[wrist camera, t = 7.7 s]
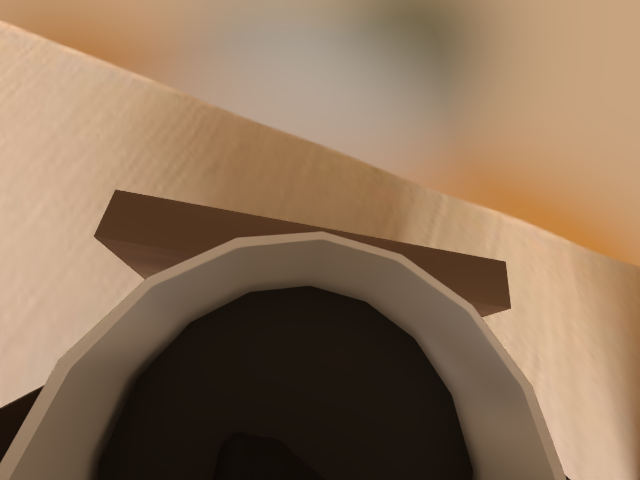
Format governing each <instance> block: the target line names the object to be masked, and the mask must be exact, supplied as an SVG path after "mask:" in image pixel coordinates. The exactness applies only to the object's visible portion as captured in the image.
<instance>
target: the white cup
mask: <svg viewBox="0 0 640 480" xmlns="http://www.w3.org/2000/svg"><path fill="white" fill-rule="evenodd" d="M0 480H566V477H565V474H564V471H563V469H562V466H561V463H560V460H559V458H558V455H557V452H556V450H555V447H554V444H553V441H552V439H551V436H550V433H549V431H548V428H547V425H546V422H545V420H544V417H543V414H542V412H541V409H540V406H539V403H538V401H537V398H536V395H535V393H534V390H533V387H532V385H531V384H530V382H529V381H528V380H527V378H526V377H525V376H524V374H523V373H522V372H521V370H520V369H519V368H518V366H517V365H516V363H515V362H514V361H513V359H512V358H511V357H510V355H509V354H508V353H507V351H506V350H505V349H504V347H503V346H502V345H501V343H500V342H499V340H498V339H497V338H496V336H495V335H494V334H493V332H492V331H491V330H490V328H489V327H488V326H487V324H486V323H485V322H484V320H483V319H482V317H481V316H480V315H479V313H478V312H477V311H476V309H475V308H474V307H473V305H471V304H470V303H469V302H467V301H466V300H464V299H463V298H462V297H460V296H459V295H457V294H456V293H455V292H453V291H452V290H450V289H449V288H448V287H446V286H445V285H443V284H442V283H441V282H439V281H438V280H437V279H435V278H434V277H432V276H431V275H430V274H428V273H427V272H425V271H424V270H423V269H421V268H420V267H418V266H417V265H416V264H414V263H413V262H411V261H410V260H409V259H407V258H406V257H404V256H403V255H402V254H398V253H395V252H391V251H388V250H384V249H381V248H378V247H374V246H371V245H367V244H364V243H360V242H357V241H354V240H350V239H347V238H343V237H340V236H336V235H333V234H329V233H326V232H323V231H322V232H309V233H295V234H281V235H267V236H254V237H240V238H235V239H233V240H231V241H228V242H226V243H224V244H222V245H220V246H217V247H215V248H213V249H211V250H208V251H206V252H204V253H202V254H199V255H197V256H195V257H193V258H191V259H188V260H186V261H184V262H182V263H179V264H177V265H175V266H173V267H170V268H168V269H166V270H164V271H162V272H159V273H157V274H155V275H153V276H150V277H148V278H147V279H146V280H144V281H143V282H142V283H141V284H140V285H139V286H138V287H137V288H136V289H135V290H134V291H133V292H132V293H130V294H129V295H128V296H127V297H126V298H125V299H124V300H123V301H122V302H121V303H120V304H119V305H117V306H116V307H115V308H114V309H113V310H112V311H111V312H110V313H109V314H108V315H107V316H106V317H105V318H103V319H102V320H101V321H100V322H99V323H98V324H97V325H96V326H95V327H94V328H93V329H92V330H91V331H89V332H88V333H87V334H86V335H85V336H84V337H83V338H82V339H81V340H80V341H79V342H78V343H76V344H75V345H74V346H73V347H72V348H71V349H70V350H69V351H68V352H67V353H66V354H65V355H64V356H62V357H61V358H60V359H59V361H58V362H57V364H56V366H55V368H54V369H53V371H52V373H51V375H50V376H49V378H48V380H47V382H46V384H45V385H44V387H43V389H42V391H41V392H40V394H39V396H38V398H37V399H36V401H35V403H34V405H33V406H32V408H31V410H30V412H29V414H28V415H27V417H26V419H25V421H24V422H23V424H22V426H21V428H20V429H19V431H18V433H17V435H16V436H15V438H14V440H13V442H12V443H11V445H10V447H9V449H8V451H7V452H6V454H5V456H4V458H3V459H2V461H1V463H0Z"/></svg>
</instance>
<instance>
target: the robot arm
mask: <svg viewBox="0 0 640 480" xmlns="http://www.w3.org/2000/svg"><path fill="white" fill-rule="evenodd" d="M43 387H44V386H42V387H40V388H38V389H36V390H34V391H32V392H30V393H28V394H26V395H24V396H22V397H21V398H19V399H17V400H15V401H13V402H11V403H9V404H7V405H5V406H3V407H1V408H0V463H1V461H2V459H3V458H4V456H5V454H6V452H7V451H8V449H9V447H10V445H11V443H12V442H13V440H14V438H15V436H16V435H17V433H18V431H19V429H20V428H21V426H22V424H23V422H24V421H25V419H26V417H27V415H28V414H29V412H30V410H31V408H32V406H33V405H34V403H35V401H36V399H37V398H38V396H39V394H40V392H41V391H42V389H43ZM565 477H566V480H570V479H569V478H568V477H567V476H565Z"/></svg>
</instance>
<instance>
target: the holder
mask: <svg viewBox="0 0 640 480" xmlns="http://www.w3.org/2000/svg"><path fill="white" fill-rule="evenodd" d="M322 231H323V232H326V233H329V234H333V235H336V236H340V237H343V238H347V239H350V240H354V241H357V242H360V243H364V244H367V245H371V246H374V247H378V248H381V249H384V250H388V251H391V252H395V253H398V254H402V255H403V256H404V257H406V258H407V259H409V260H410V261H411V262H413V263H414V264H416V265H417V266H418V267H420V268H421V269H423V270H424V271H425V272H427V273H428V274H430V275H431V276H432V277H434V278H435V279H437V280H438V281H439V282H441V283H442V284H443V285H445V286H446V287H448V288H449V289H450V290H452V291H453V292H455V293H456V294H457V295H459V296H460V297H462V298H463V299H464V300H466V301H467V302H469V303H470V304H471V305H473V307H474V308H475V309H476V311H477V312H478V313H479V315H480V316H481V317H484V316H487V315H491V314H494V313H497V312H501V311H504V310H507V309H511V304H510V295H509V287H508V278H507V270H506V262H504V261H499V260H494V259H488V258H483V257H477V256H472V255H466V254H461V253H456V252H450V251H445V250H439V249H434V248H429V247H423V246H418V245H412V244H407V243H402V242H396V241H391V240H385V239H380V238H374V237H369V236H364V235H358V234H353V233H347V232H342V231H337V230H331V229H326V228H320V227H315V226H310V225H304V224H299V223H293V222H288V221H282V220H277V219H272V218H266V217H261V216H255V215H250V214H245V213H239V212H234V211H228V210H223V209H218V208H212V207H207V206H201V205H196V204H190V203H185V202H180V201H174V200H169V199H163V198H158V197H153V196H147V195H142V194H136V193H131V192H126V191H120V190H115V192H114V194H113V196H112V198H111V200H110V202H109V205H108V207H107V209H106V211H105V213H104V215H103V217H102V220H101V222H100V224H99V226H98V228H97V230H96V232H95V235H94V237H95V238H96V239H97V240H98V241H100V242H101V243H102V244H103V245H104V246H106V247H107V248H108V249H109V250H110V251H112V252H113V253H114V254H115V255H116V256H118V257H119V258H120V259H121V260H122V261H124V262H125V263H126V264H127V265H128V266H130V267H131V268H132V269H133V270H134V271H136V272H137V273H138V274H139V275H140V276H142V277H143V278H144V279H145V280H146V279H147V278H148V277H150V276H153V275H155V274H157V273H159V272H162V271H164V270H166V269H168V268H170V267H173V266H175V265H177V264H179V263H182V262H184V261H186V260H188V259H191V258H193V257H195V256H197V255H199V254H202V253H204V252H206V251H208V250H211V249H213V248H215V247H217V246H220V245H222V244H224V243H226V242H228V241H231V240H233V239H235V238H240V237H254V236H267V235H281V234H295V233H309V232H322Z"/></svg>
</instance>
